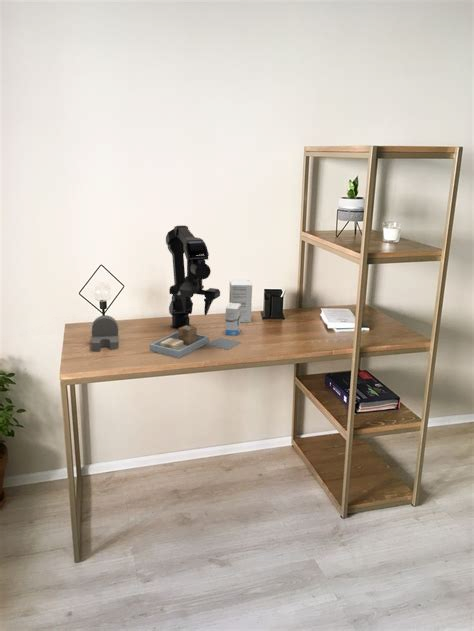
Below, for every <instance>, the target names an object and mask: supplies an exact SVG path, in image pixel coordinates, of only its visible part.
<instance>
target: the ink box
mask: <svg viewBox="0 0 474 631" xmlns="http://www.w3.org/2000/svg"><path fill="white" fill-rule="evenodd" d="M241 323H242V322H241V304H239V303H228V304H227V306H226V307H225V335H226V336H238V335H239V334H240V332H241Z"/></svg>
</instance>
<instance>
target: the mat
mask: <svg viewBox="0 0 474 631" xmlns="http://www.w3.org/2000/svg"><path fill="white" fill-rule="evenodd" d="M241 343H242V341H239V340H236V339H229V338H225V337H220V336H219V337H217V338H215V339H213V340H211V341H210V342H209V343H207V344H205V346H209V347H214V348H217V349H223V350H227V351H229V350H231V349H232V348H234V347H235V346H238V345H239V344H241Z"/></svg>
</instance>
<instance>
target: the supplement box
mask: <svg viewBox="0 0 474 631" xmlns="http://www.w3.org/2000/svg"><path fill="white" fill-rule="evenodd" d="M252 295H253V285H252V282H251V280H250V279H230V280H229V300H228V302H229V303H239V304H241V322H240V323H252V301H253V300H252V298H253V296H252ZM229 303H228V304H229Z"/></svg>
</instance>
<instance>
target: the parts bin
mask: <svg viewBox="0 0 474 631" xmlns="http://www.w3.org/2000/svg"><path fill="white" fill-rule="evenodd" d="M209 337H210V336H209V335H203V334H198V333H197V342H195V343H193V344H191V345H189V346H187V345H183V349H181V350H174V349H170V348H166V347H162V346H161V343H160V342H163V341H165V340H167V339H169V338H173V339H177V340H178V331H176V332H174V333H172V334H169V335H167V336H165V337H163V338H161V339H158V340H157V341H154V342H152V343H150V344H149V351H150V352H153V353H157V354H160V355H165V356H169V357H173V358H178V359H180V358H182V357H185V356H186V355H188V354H190V353H191V352H194V351H195V350H197V349H200V348H201V347H203V346H206V344H208V343H210V342H209V341H210V340H209Z"/></svg>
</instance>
